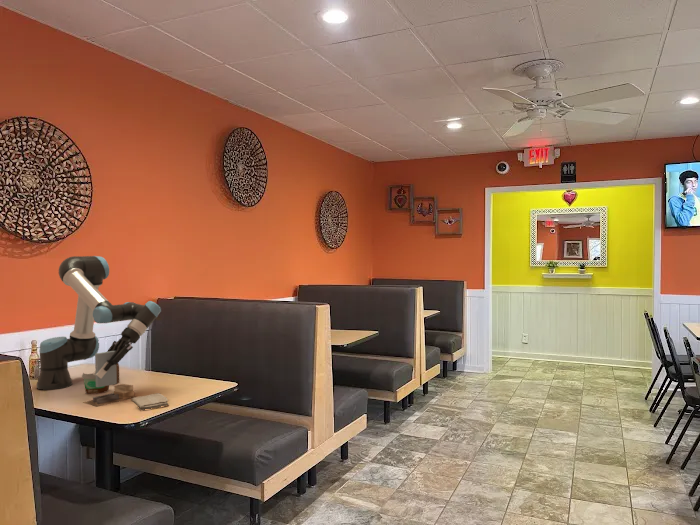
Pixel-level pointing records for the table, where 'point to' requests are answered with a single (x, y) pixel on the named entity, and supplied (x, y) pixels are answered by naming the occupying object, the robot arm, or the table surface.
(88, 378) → the food container
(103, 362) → the tall panel
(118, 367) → the mug
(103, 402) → the brown rectangular board
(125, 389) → the offcut stack
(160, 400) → the washcloth
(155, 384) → the table surface
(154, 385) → the table surface
